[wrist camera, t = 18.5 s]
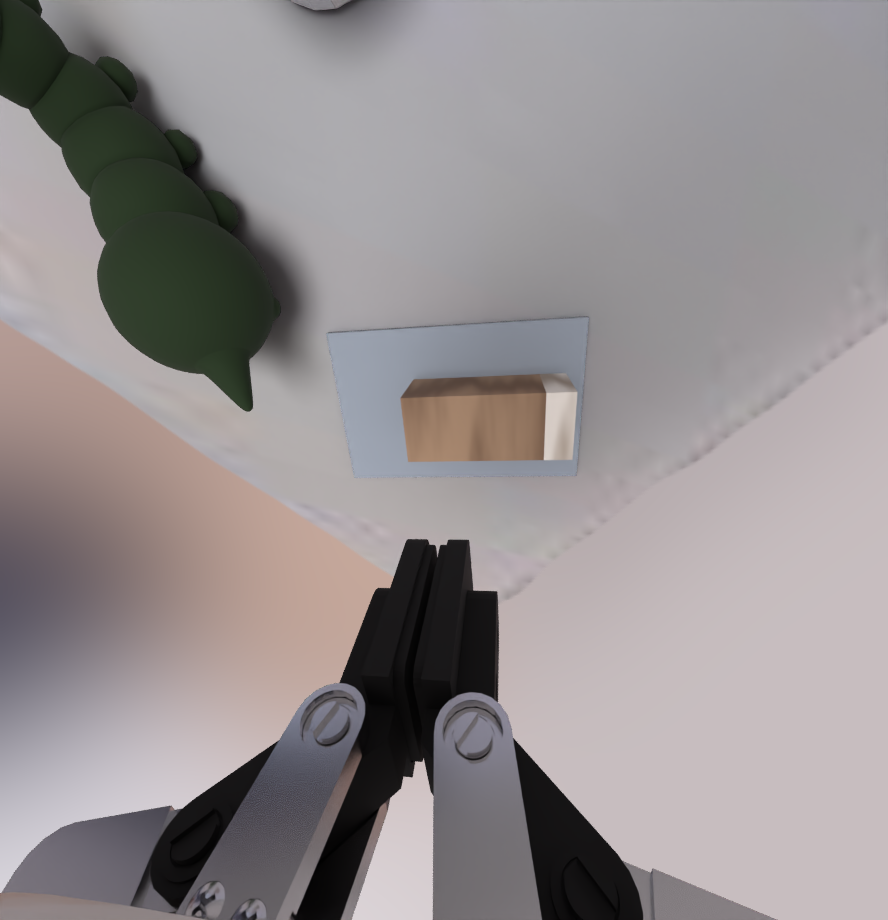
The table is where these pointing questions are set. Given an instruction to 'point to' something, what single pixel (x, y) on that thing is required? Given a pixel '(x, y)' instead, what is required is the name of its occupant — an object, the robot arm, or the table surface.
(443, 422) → the brown tall block
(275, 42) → the table surface
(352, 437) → the rubber mat
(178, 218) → the toy figurine
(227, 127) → the table surface
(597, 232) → the table surface
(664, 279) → the table surface
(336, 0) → the beverage can
